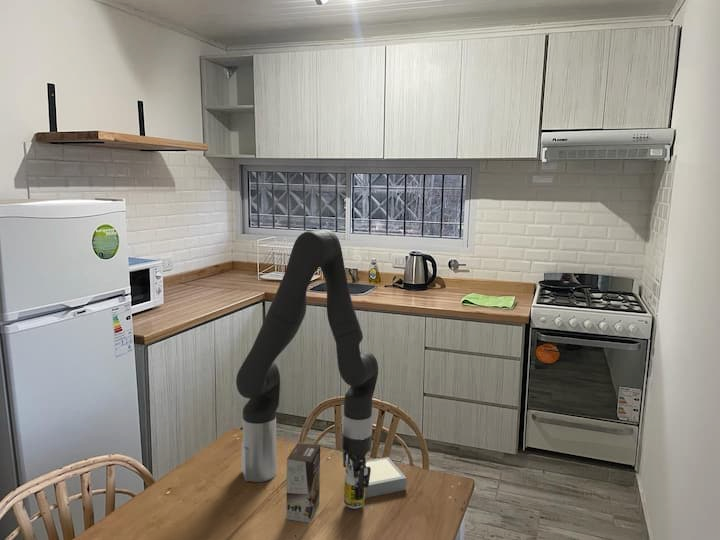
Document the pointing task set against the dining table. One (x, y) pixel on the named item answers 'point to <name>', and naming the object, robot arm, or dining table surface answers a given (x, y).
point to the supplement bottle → (351, 491)
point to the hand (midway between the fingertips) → (354, 492)
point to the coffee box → (303, 482)
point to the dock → (384, 478)
